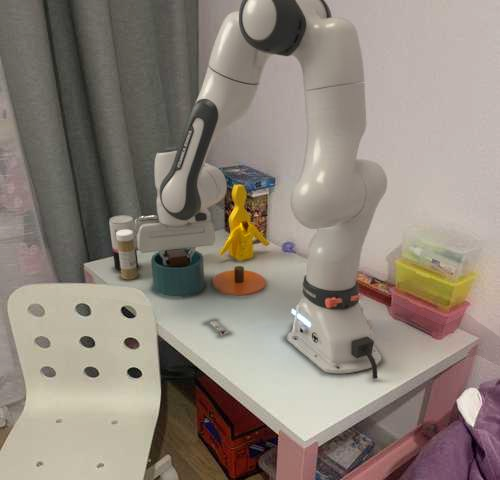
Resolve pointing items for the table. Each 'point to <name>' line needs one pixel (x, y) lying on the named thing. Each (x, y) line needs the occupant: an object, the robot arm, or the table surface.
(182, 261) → the block
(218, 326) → the granola bar
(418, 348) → the table surface
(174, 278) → the tin
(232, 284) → the lid
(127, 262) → the sprinkles bottle
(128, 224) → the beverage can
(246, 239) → the figure statuette
